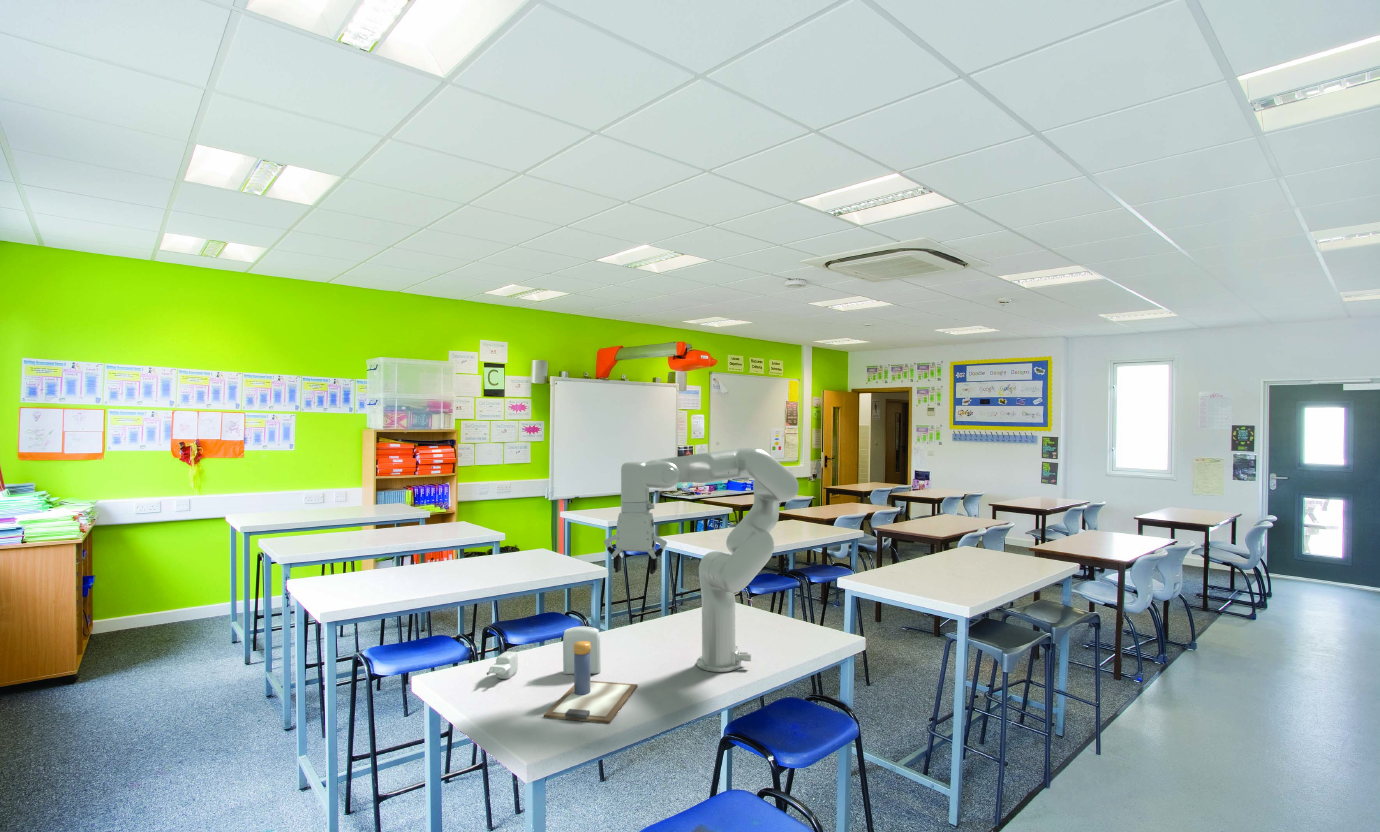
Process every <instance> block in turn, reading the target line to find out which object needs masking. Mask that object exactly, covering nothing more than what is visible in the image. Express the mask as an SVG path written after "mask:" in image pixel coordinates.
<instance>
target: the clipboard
mask: <svg viewBox="0 0 1380 832" xmlns="http://www.w3.org/2000/svg"><path fill="white" fill-rule="evenodd" d="M637 688H638V683H625V682H624V683H623V682H614V681H613V682H611V681H600V680H599V681H597V680H590V693H589V694H586V695H576V694H575V693H574V684H573V685H572V686H571V687H570V688H569V689H568V691H566V692H565V693H564V694H563V695H562V697H560V698H559V699H558V700H556V702H555V703H554V704H553V705H551V707H550V708H549V709H548V710H546V712H545V713H544V714H543V718H544V717H547V719H555V718H557V719H558V720H566V719H568V720H569V721H577V720H581V721H580V722H588V721H592V722H591V723H601V722H602V723H603V724H611V722H612V721H613V720H614V719H615V717H616V716H617V715H618V713H619V712H620V711H619V710H621V709H622V708H623V707H624V705H626V703H627V701H628V700H629V699H630V698H631V696H632V695H633V694H634V692H635V691H636V690H637ZM628 698H629V699H628ZM625 702H626V703H625ZM622 706H623V707H622ZM618 711H619V712H618ZM602 723H601V724H602Z"/></svg>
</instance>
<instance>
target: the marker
mask: <svg viewBox="0 0 1380 832" xmlns="http://www.w3.org/2000/svg"><path fill="white" fill-rule="evenodd" d="M590 652H591V643H590V642H588V641H579V642H575V643H574V674H573V675H574V679H573V680H574V681H573V685H574V693H575V694H576V695H586V694H589V693H590V681H591V674H590Z"/></svg>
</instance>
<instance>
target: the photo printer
mask: <svg viewBox="0 0 1380 832" xmlns="http://www.w3.org/2000/svg"><path fill="white" fill-rule="evenodd" d="M563 633H564V634H563V637H562V653H563V654H562V662H563V663H562V667H563V668H562V669H563V674H564V675H574V643H575V642H579V641H588V642H590V643H591V652H590V675H591V674H592V675H593V674H600V673H601V667H602V666H601V635H600V629H599V628H595V627H591V626H584V625H583V626H574V627H569V628H567V629H565V630H564V632H563Z"/></svg>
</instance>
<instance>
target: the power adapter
mask: <svg viewBox="0 0 1380 832" xmlns="http://www.w3.org/2000/svg"><path fill="white" fill-rule="evenodd" d="M518 659H519V658H518V652H516V651H508V650H507V651H504V652H503V653H500V655H498V656H497V657H496V659H495V663H494V664H493V665H491V666H490V667H489V669H488V671H487V672H486V675H487V676H489V675H490V674H495V677H496V678H497V679H502V680H508V679H510V678H512V677H513V676H514V675H516V674H517V672H518V664H519V663H518Z"/></svg>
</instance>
